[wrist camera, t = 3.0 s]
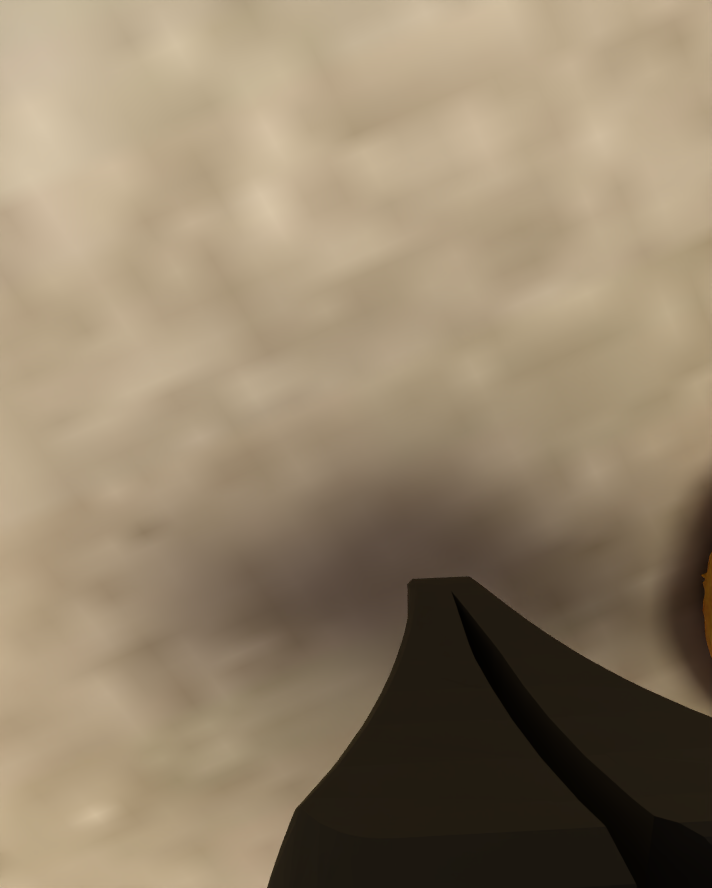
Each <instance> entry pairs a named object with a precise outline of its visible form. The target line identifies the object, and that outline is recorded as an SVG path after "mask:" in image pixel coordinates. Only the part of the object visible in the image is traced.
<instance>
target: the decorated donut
mask: <svg viewBox="0 0 712 888" xmlns="http://www.w3.org/2000/svg"><path fill="white" fill-rule="evenodd" d="M701 576H702V577H704V578H705V581H704V582H703V585H704V589H705V596H704V600H703V609H702V612H703V614H704V619H705V622H704V624H705V636H706V641H707V645H708V648H709V652H710V655H711V657H712V552H711V554H710V556H709V562H708V569H707V573H705V574H702V575H701Z"/></svg>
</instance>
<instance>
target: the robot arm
mask: <svg viewBox="0 0 712 888" xmlns="http://www.w3.org/2000/svg"><path fill="white" fill-rule="evenodd" d="M407 587H408V619H407V624H406V629H405V633H404V636H403V640H402V643H401V646H400V649H399V652H398V655H397V658H396V661H395V663H394V666H393V668H392V671H391V673H390V675H389V678H388V680H387V682H386V684H385V686H384V688H383V690H382V692H381V694H380V696H379V698H378V700H377V702H376V703H375V705H374V707H373V709H372V711H371V713H370V714H369V716H368V718H367V719H366V721H365V723H364V724H363V726H362V727H361V729H360V730H359V732H358V733H357V734H356V736H355V737H354V739H353V740H352V742H351V743H350V744H349V746H348V747H347V749H346V750H345V751H344V753H343V754H342V756H341V757H340V758H339V760H338V761H337V762H336V764H335V765H334V766H333V767H332V769H331V770H330V771H329V772H328V773H327V775H326V776H325V777H324V778H323V779H322V780H321V781H320V782H319V784H318V785H317V786H316V787H315V788H314V789H313V790H312V791H311V793H310V794H309V795H308V796H307V797H306V798H305V799H304V801H303V802H302V803H301V804H300V805H299V806H298V807H297V808H296V809H295V812H294V814H293V817H292V819H291V821H290V824H289V827H288V829H287V832H286V835H285V837H284V840H283V842H282V845H281V848H280V851H279V854H278V856H277V859H276V862H275V865H274V868H273V871H272V874H271V877H270V880H269V884H268V887H267V888H712V717H709V716H707V715H704V714H702V713H699V712H697V711H694V710H692V709H689V708H687V707H685V706H683V705H680V704H678V703H676V702H674V701H671V700H669V699H667V698H665V697H662V696H660V695H658V694H656V693H653V692H651V691H649V690H647V689H645V688H642V687H640V686H638V685H636V684H634V683H632V682H630V681H628V680H626V679H624V678H622V677H620V676H618V675H617V674H615V673H613V672H611V671H609V670H607V669H605V668H604V667H602V666H600V665H598V664H596V663H594V662H592V661H591V660H589V659H587V658H585V657H584V656H582V655H580V654H578V653H577V652H575V651H573V650H572V649H570V648H569V647H567V646H566V645H564V644H562V643H561V642H559V641H558V640H556V639H555V638H553V637H551V636H550V635H548V634H547V633H545V632H544V631H542V630H541V629H540V628H538V627H537V626H535V625H534V624H532V623H531V622H529V621H528V620H527V619H525V618H524V617H522V616H521V615H520V614H518V613H517V612H516V611H514V610H513V609H512V608H510V607H509V606H508V605H506V604H505V603H504V602H502V601H501V600H500V599H498V598H497V597H496V596H495V595H493V594H492V593H491V592H489V591H488V590H487V589H485V588H484V587H483V586H482V585H480V584H479V583H478V582H476V581H475V580H473V579H472V578H470V577H447V578H425V579H412V580H411V581H410V582H409V583H408V584H407Z"/></svg>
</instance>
